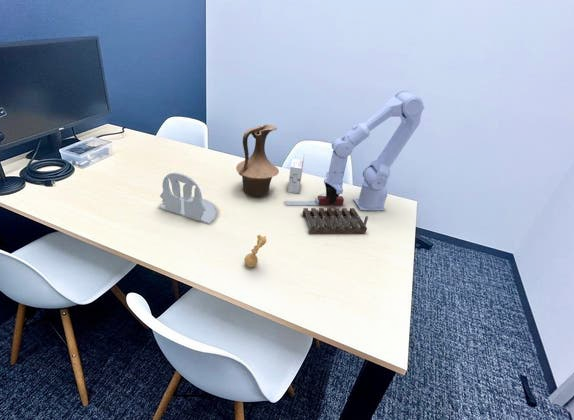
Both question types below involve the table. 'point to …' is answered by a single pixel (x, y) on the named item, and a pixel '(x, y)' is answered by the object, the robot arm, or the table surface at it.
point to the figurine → (255, 252)
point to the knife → (319, 202)
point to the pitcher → (257, 164)
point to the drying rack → (335, 221)
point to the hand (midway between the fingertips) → (330, 201)
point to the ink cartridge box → (295, 175)
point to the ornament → (186, 199)
